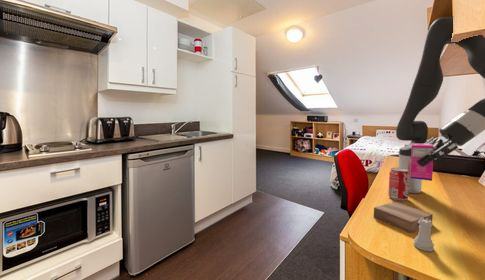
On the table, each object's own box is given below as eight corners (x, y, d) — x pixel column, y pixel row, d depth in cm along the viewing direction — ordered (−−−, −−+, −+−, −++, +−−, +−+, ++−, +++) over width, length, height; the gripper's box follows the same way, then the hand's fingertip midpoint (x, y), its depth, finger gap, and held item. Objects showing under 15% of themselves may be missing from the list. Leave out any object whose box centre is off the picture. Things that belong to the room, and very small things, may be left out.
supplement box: (409, 174, 79) (411, 142, 78) (431, 176, 76) (433, 143, 74) (409, 178, 75) (411, 144, 74) (432, 181, 71) (435, 146, 70)
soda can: (405, 202, 91) (407, 172, 90) (385, 198, 97) (387, 169, 95) (410, 198, 96) (412, 169, 95) (390, 194, 101) (392, 166, 100)
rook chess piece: (428, 254, 58) (430, 225, 57) (409, 245, 62) (411, 218, 61) (437, 249, 60) (440, 221, 59) (419, 241, 64) (421, 214, 63)
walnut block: (394, 211, 84) (395, 201, 84) (431, 225, 73) (432, 214, 73) (373, 218, 79) (374, 207, 79) (410, 234, 69) (411, 221, 68)
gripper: (443, 119, 77) (400, 150, 83) (465, 120, 64) (413, 158, 69) (461, 134, 75) (417, 165, 81) (488, 138, 62) (433, 175, 68)
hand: (415, 162), depth 75 cm, fingers closed on supplement box, 7 cm apart
